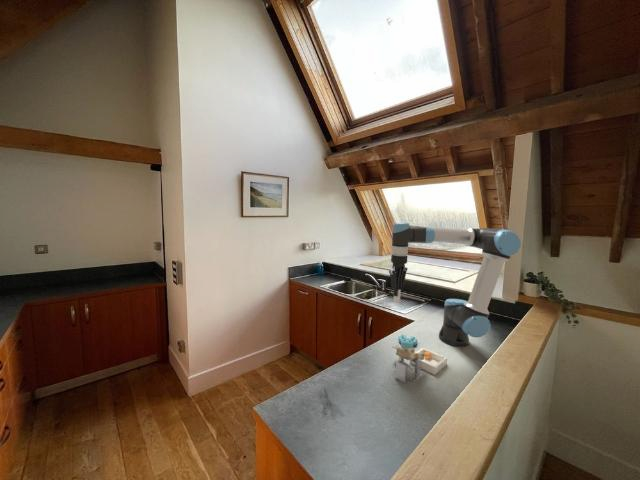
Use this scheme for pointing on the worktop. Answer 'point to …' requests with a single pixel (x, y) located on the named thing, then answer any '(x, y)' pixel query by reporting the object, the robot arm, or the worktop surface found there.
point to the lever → (408, 353)
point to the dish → (432, 362)
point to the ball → (427, 355)
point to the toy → (407, 342)
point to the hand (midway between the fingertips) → (396, 301)
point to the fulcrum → (407, 370)
